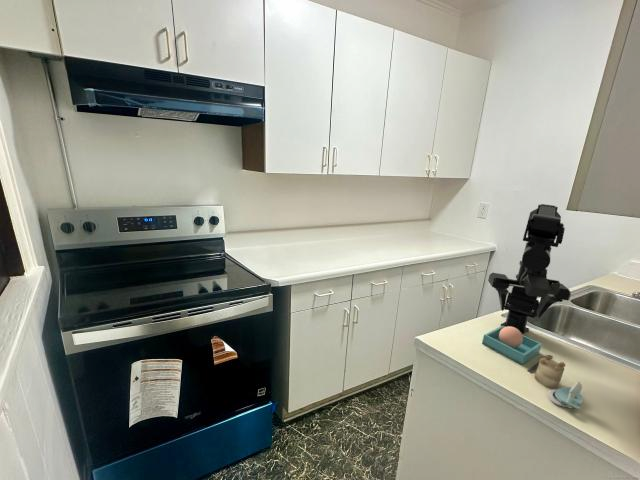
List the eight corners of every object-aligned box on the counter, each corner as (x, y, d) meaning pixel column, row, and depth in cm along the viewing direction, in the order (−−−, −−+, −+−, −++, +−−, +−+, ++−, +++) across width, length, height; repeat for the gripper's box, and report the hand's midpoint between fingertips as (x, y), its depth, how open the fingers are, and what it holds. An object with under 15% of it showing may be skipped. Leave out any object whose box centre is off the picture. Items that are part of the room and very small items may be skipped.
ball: (504, 325, 97) (507, 319, 92) (524, 338, 94) (529, 332, 89) (493, 340, 96) (496, 335, 91) (513, 354, 93) (517, 349, 88)
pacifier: (544, 401, 73) (576, 417, 69) (550, 378, 72) (584, 393, 68) (551, 387, 78) (582, 401, 74) (557, 365, 77) (589, 378, 72)
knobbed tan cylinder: (539, 372, 83) (545, 352, 82) (561, 383, 79) (568, 363, 78) (531, 378, 80) (537, 358, 79) (553, 391, 77) (560, 370, 75)
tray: (500, 333, 101) (502, 325, 100) (539, 352, 92) (542, 343, 91) (481, 343, 94) (484, 334, 94) (521, 365, 86) (524, 355, 85)
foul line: (548, 355, 91) (548, 354, 91) (552, 356, 91) (552, 356, 91) (527, 370, 83) (527, 370, 83) (531, 373, 83) (531, 372, 83)
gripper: (504, 265, 81) (490, 319, 85) (589, 278, 76) (570, 335, 80) (494, 253, 91) (482, 302, 95) (568, 264, 87) (552, 315, 91)
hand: (519, 313), depth 90 cm, fingers open, 9 cm apart
